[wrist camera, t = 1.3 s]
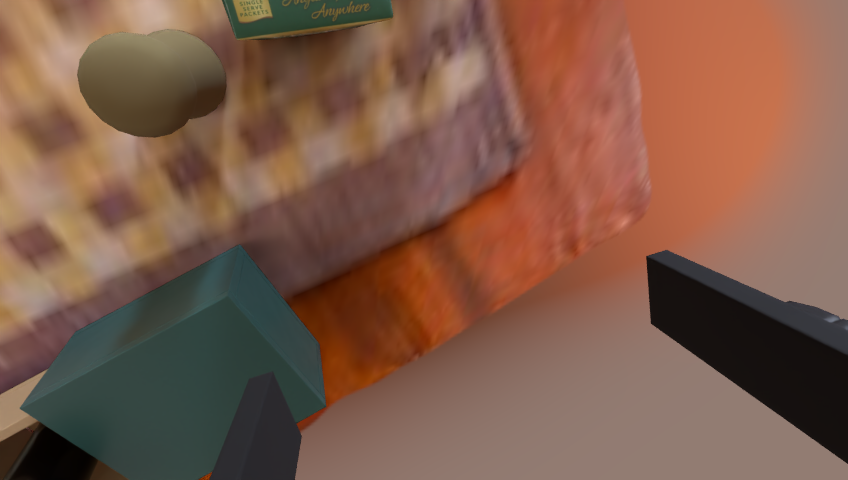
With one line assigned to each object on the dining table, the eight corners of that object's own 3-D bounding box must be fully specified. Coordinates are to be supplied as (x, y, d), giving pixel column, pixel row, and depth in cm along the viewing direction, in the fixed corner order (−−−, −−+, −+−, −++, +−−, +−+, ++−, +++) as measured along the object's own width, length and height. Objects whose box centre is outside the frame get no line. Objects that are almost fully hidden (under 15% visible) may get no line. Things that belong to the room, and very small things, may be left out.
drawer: (42, 499, 40) (-1, 578, 34) (-87, 430, 34) (-166, 511, 28) (216, 401, 41) (205, 461, 35) (123, 317, 35) (89, 372, 29)
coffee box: (253, 43, 30) (233, 43, 19) (240, -2, 29) (210, -31, 18) (360, 29, 32) (401, 20, 21) (352, -14, 31) (391, -49, 19)
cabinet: (183, 420, 42) (161, 501, 34) (75, 331, 35) (18, 408, 28) (319, 344, 43) (326, 406, 35) (239, 243, 36) (227, 295, 29)
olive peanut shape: (222, 127, 32) (194, 161, 22) (130, 107, 30) (56, 136, 20) (230, 44, 30) (203, 43, 20) (132, 17, 28) (50, 1, 18)
